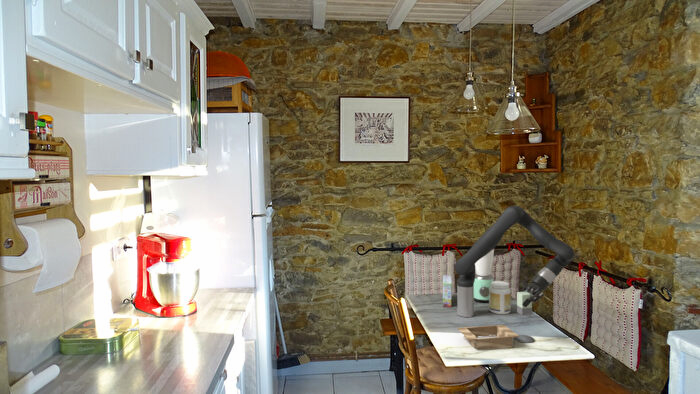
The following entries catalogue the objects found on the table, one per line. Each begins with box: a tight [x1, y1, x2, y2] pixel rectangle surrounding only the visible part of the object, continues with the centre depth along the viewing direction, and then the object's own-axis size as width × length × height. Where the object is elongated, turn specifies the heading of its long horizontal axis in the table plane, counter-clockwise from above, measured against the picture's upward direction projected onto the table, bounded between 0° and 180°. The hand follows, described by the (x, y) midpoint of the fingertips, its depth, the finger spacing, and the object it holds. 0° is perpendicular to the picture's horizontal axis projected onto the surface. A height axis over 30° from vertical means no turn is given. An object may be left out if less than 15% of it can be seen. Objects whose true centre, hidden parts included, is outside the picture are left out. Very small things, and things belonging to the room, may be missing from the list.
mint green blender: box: [474, 248, 495, 303], centre depth 279 cm, size 19×13×35 cm
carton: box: [457, 324, 520, 351], centre depth 212 cm, size 16×25×5 cm, turn 97°
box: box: [516, 291, 533, 316], centre depth 213 cm, size 5×5×10 cm
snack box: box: [442, 275, 453, 308], centre depth 276 cm, size 21×6×15 cm, turn 168°
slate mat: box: [513, 334, 535, 344], centre depth 214 cm, size 9×9×1 cm
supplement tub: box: [488, 280, 512, 315], centre depth 257 cm, size 12×12×17 cm
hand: (520, 304), depth 213 cm, fingers closed on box, 5 cm apart
